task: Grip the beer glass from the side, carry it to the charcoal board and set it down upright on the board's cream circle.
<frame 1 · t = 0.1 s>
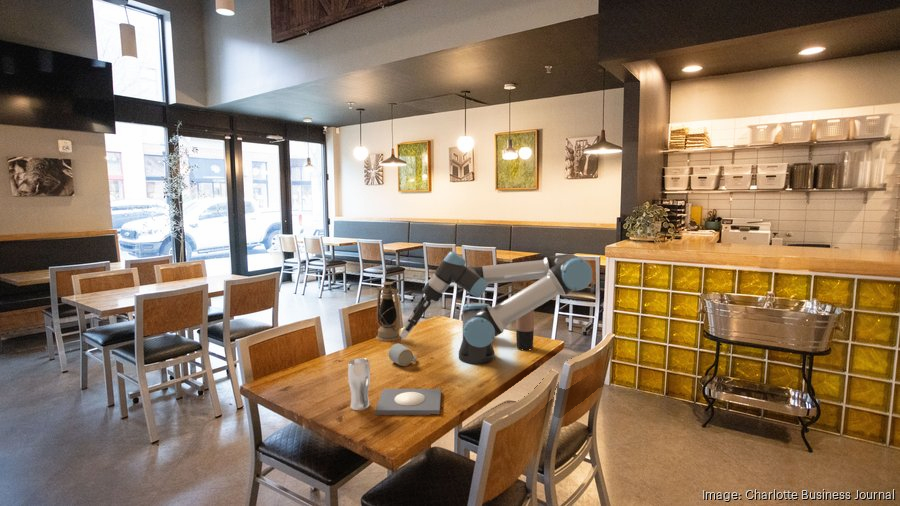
hand: (403, 331, 179), 15 cm above the table, tool tilted 35°, fingers open, 13 cm apart
travel mug: (524, 348, 206), on the table
lantern: (388, 338, 222), on the table
decorative planter: (478, 338, 221), on the table
beer glass: (360, 406, 150), on the table
ceramic mug: (403, 363, 189), on the table
charcoal board: (409, 403, 152), on the table
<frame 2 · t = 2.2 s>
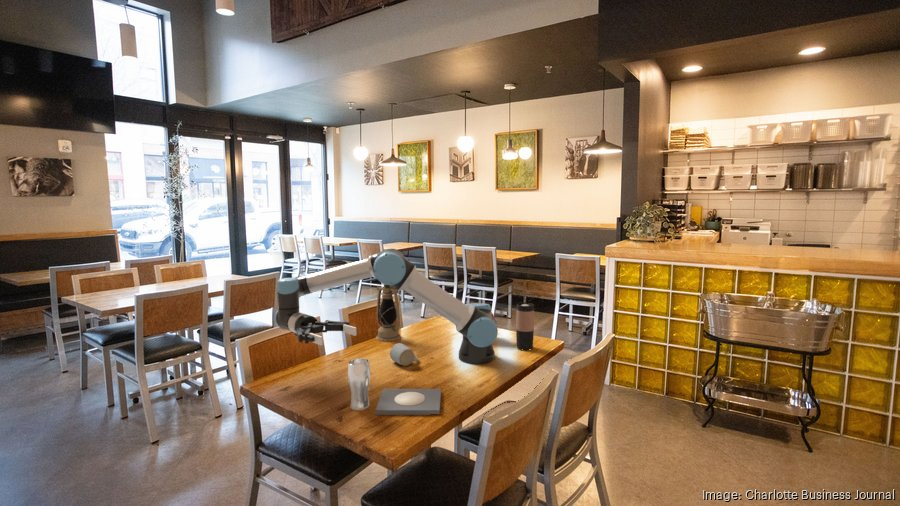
hand: (339, 336, 154), 21 cm above the table, tool horizontal, fingers open, 13 cm apart
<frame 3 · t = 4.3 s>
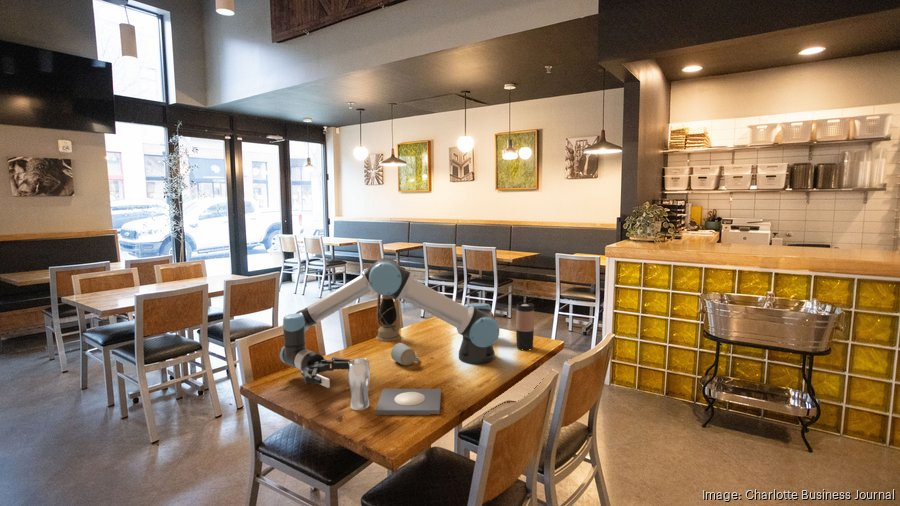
hand: (346, 377, 153), 8 cm above the table, tool horizontal, fingers open, 13 cm apart
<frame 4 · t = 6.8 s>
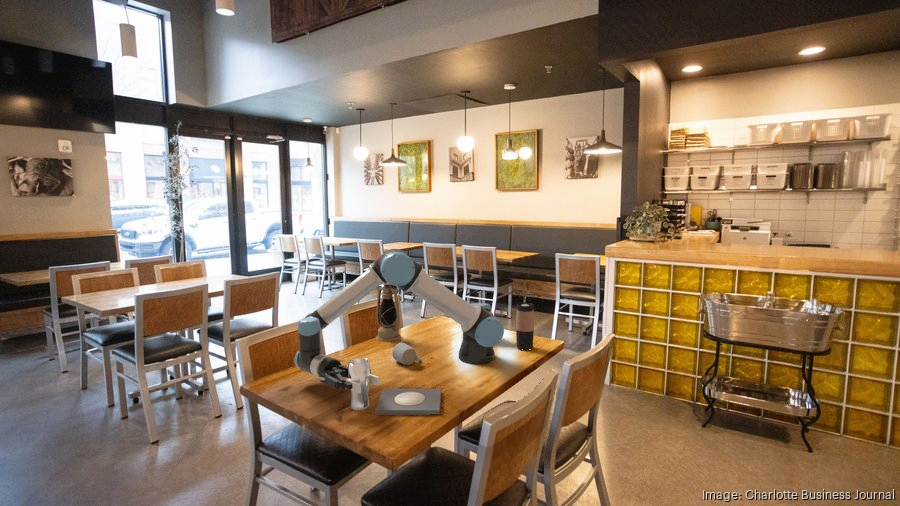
hand: (369, 385, 146), 9 cm above the table, tool horizontal, fingers closed on beer glass, 7 cm apart
beer glass: (360, 406, 150), on the table, touching gripper
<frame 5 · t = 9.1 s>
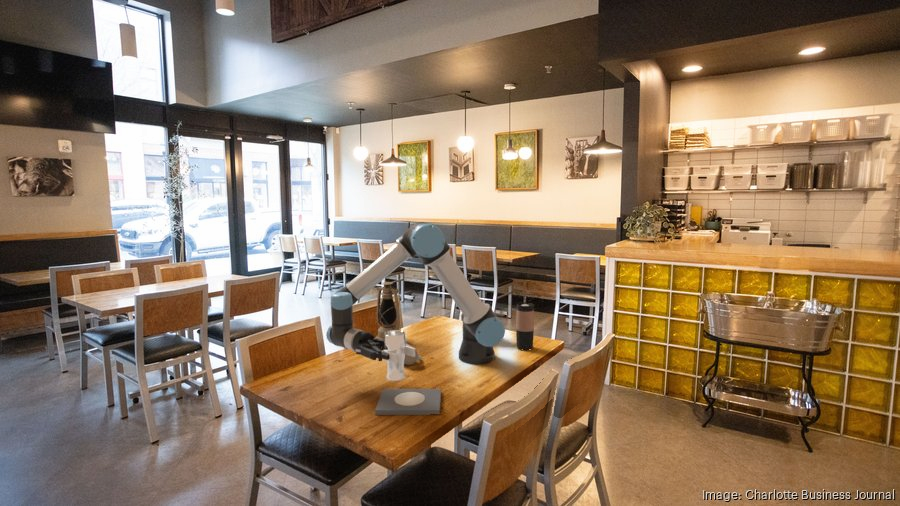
hand: (406, 355, 146), 18 cm above the table, tool horizontal, fingers closed on beer glass, 7 cm apart
beer glass: (395, 378, 150), point 9 cm above the table, touching gripper
when the fingers open (11 cm above the table, at t = 11.5 s): beer glass stays where it is, resting on charcoal board.
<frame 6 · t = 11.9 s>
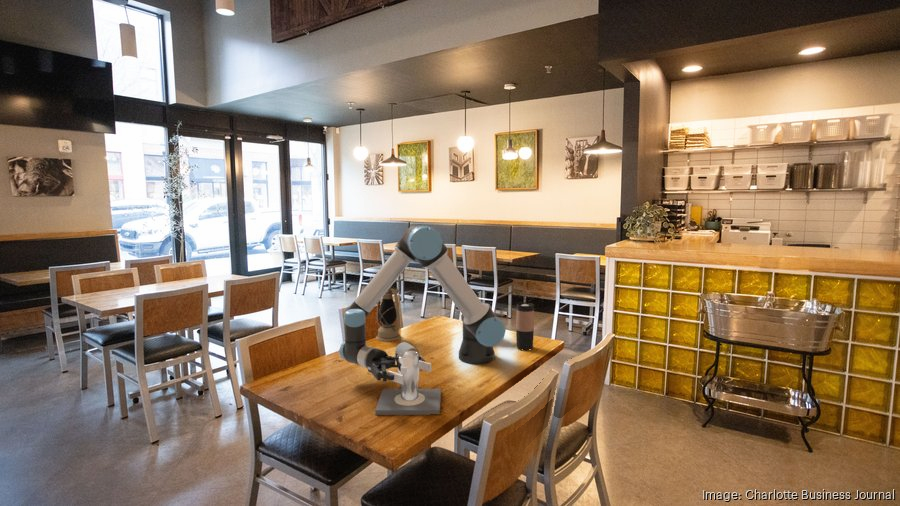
hand: (417, 373, 148), 11 cm above the table, tool horizontal, fingers open, 12 cm apart
beer glass: (409, 398, 152), point 2 cm above the table, touching charcoal board
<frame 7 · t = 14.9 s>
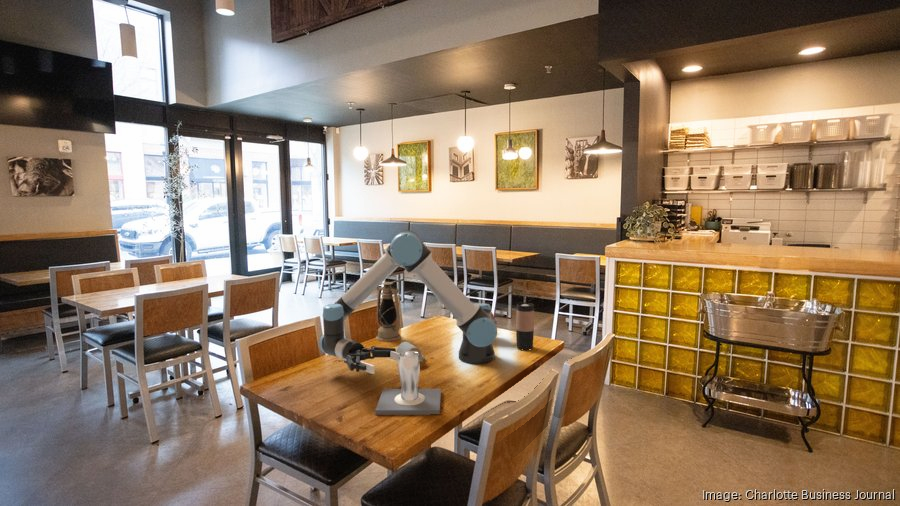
hand: (389, 364, 157), 11 cm above the table, tool horizontal, fingers open, 13 cm apart
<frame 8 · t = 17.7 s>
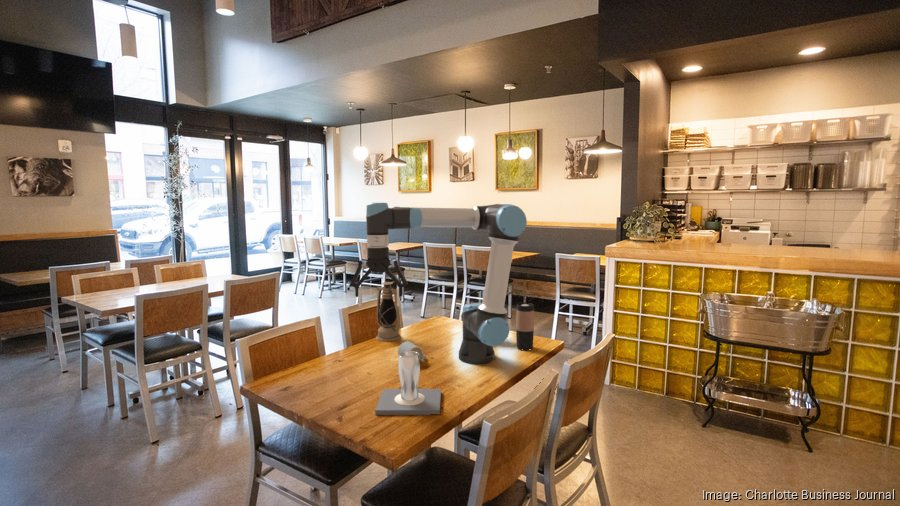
hand: (379, 305, 165), 29 cm above the table, tool pointing down, fingers open, 13 cm apart
at the end: beer glass 0.0 cm from the charcoal board (horizontally); beer glass tilted 0°; the gripper is holding nothing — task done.
